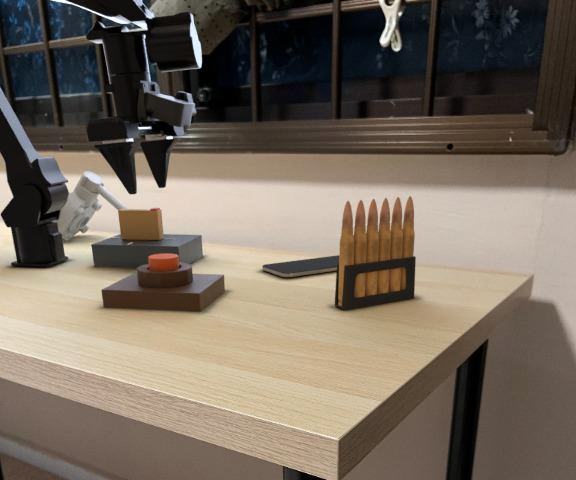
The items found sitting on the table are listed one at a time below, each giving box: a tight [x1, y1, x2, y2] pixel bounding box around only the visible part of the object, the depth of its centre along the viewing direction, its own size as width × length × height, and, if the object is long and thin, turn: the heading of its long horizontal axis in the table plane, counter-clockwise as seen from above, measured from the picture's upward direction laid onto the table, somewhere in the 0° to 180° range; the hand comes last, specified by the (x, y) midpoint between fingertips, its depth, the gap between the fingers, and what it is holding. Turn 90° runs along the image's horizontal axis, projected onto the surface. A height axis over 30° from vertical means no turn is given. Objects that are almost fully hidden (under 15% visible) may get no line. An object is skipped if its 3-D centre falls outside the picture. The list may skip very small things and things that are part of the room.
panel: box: [91, 233, 204, 269], centre depth 97 cm, size 14×11×4 cm
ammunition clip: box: [334, 195, 417, 311], centre depth 71 cm, size 11×2×12 cm, turn 120°
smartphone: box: [261, 254, 339, 278], centre depth 91 cm, size 7×1×15 cm
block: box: [117, 207, 164, 240], centre depth 96 cm, size 6×2×5 cm, turn 79°
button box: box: [101, 262, 226, 313], centre depth 75 cm, size 12×10×4 cm
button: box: [148, 253, 179, 271], centre depth 74 cm, size 4×4×2 cm
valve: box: [52, 170, 129, 242], centre depth 117 cm, size 10×20×15 cm
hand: (148, 190), depth 92 cm, fingers open, 9 cm apart
